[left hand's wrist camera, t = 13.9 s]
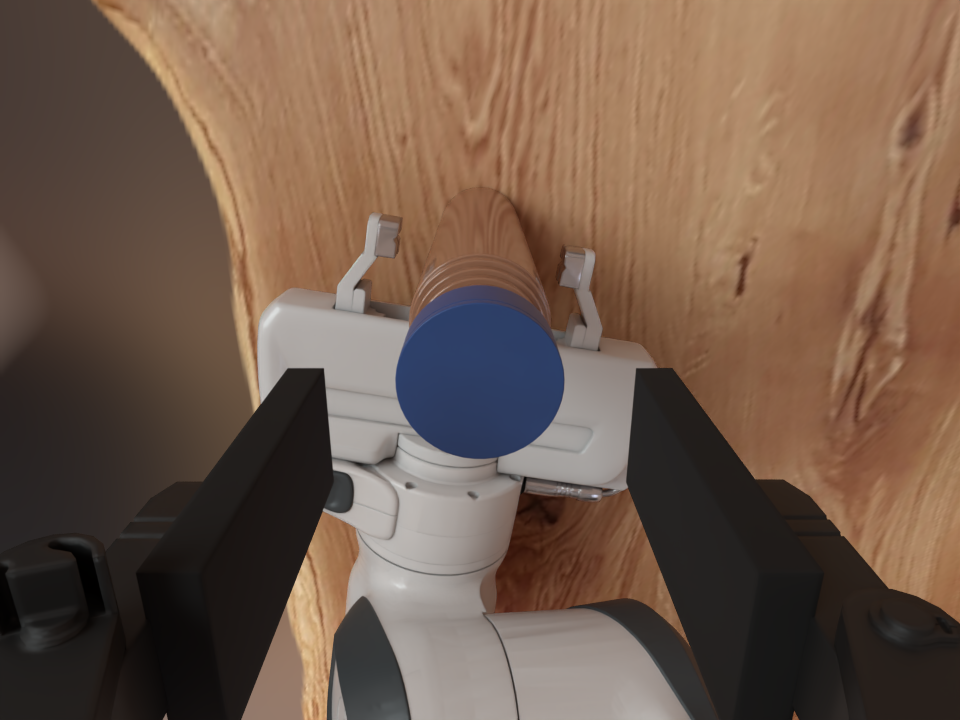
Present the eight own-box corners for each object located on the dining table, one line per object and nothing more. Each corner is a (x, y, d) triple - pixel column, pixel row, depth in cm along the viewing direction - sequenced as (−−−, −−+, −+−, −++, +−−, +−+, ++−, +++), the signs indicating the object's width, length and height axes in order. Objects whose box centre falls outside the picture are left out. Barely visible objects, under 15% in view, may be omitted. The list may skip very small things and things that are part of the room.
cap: (445, 451, 19) (442, 483, 17) (375, 325, 18) (364, 347, 16) (581, 392, 18) (590, 420, 17) (517, 257, 17) (521, 273, 15)
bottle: (462, 278, 39) (440, 482, 18) (427, 208, 38) (357, 339, 16) (531, 245, 39) (596, 416, 17) (498, 173, 37) (524, 261, 16)
